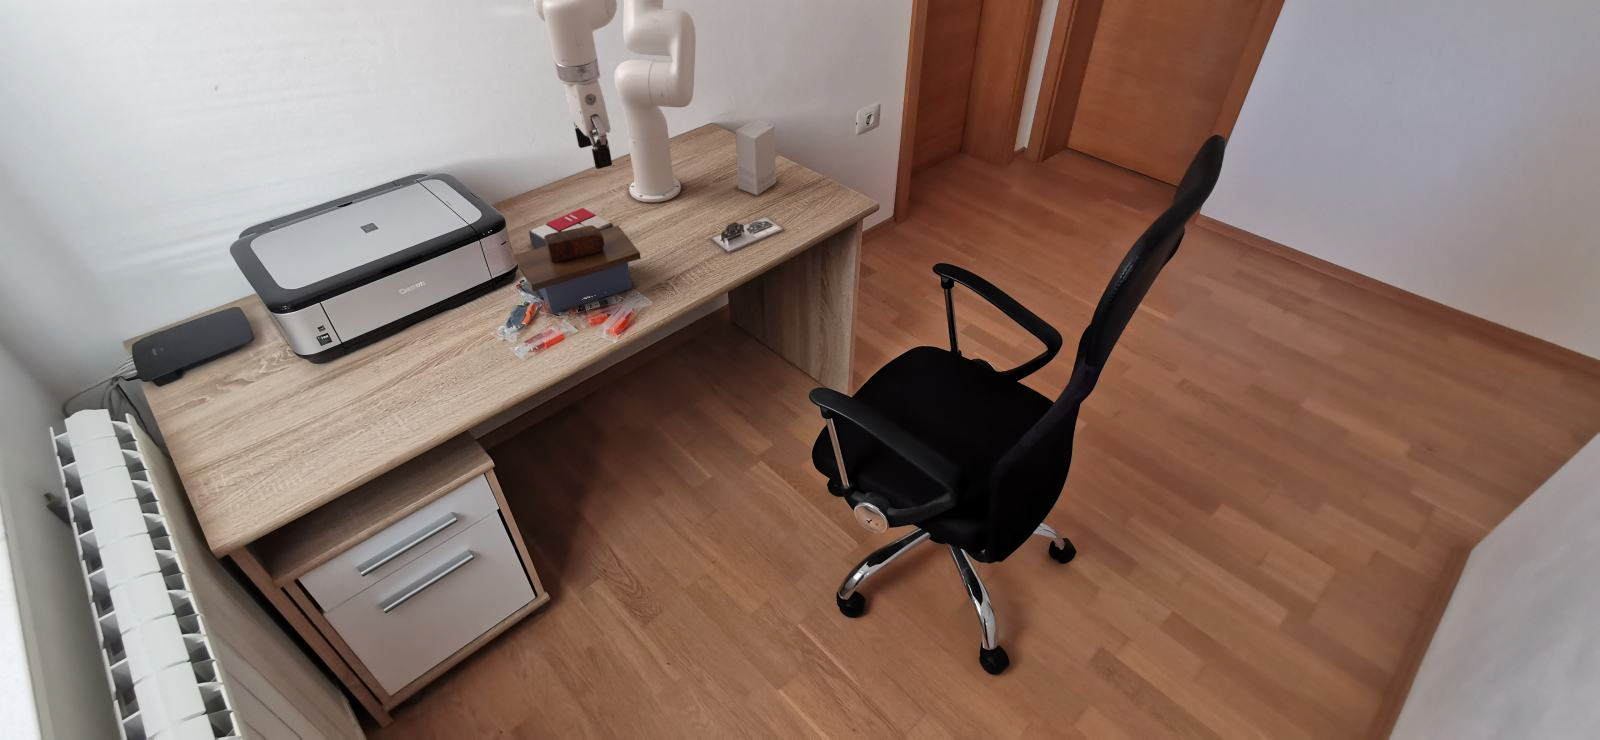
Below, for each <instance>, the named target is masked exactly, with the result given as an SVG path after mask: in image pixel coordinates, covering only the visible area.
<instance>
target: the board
mask: <svg viewBox="0 0 1600 740" xmlns="http://www.w3.org/2000/svg"><path fill="white" fill-rule="evenodd" d="M600 232H601V234H602V236H603V240H604V247H603V251H602V252H598V253H594V254H590V255H586V256H582V257H577V258H573V259H569V260H564V261H559V262H555V263H554V262H552V261H551V258H550V256H549V254H548V250H547V246H544V247H541V248H534V249H530V250H527V251H523V252H519V253H516V254H513V256H514V261H515V262H516V263H515V264H517V266H518V268H519V270H520V271H521V273H522V274H523V276H524V278H525V280H526V282H527V283H528V285H529V287H530V289H531V291H532V292H536V291H539V289H542V288H546V287H549V286H552V285H556V284H559V283H562V282H565V281H569V280H572V279H575V278H579V277H582V276H585V275H588V274H592V273H595V272H598V271H602V270H605V269H608V268H612V267H615V266H618V265H621V264H625V263H628V264H629V263H631V262H634V261H638V260H641V259H642V256H641V252H640V251H639V249H638V248H637V247H636V246H635V245H634V243H633V242H632V240H630V238H629V237H628V236H627V234H626V233H625V232H624V231H623V230H622V228H621V227H620V226H619V225H616V226H613V227H612V228H608V229H605V230H601V231H600Z"/></svg>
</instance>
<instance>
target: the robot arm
mask: <svg viewBox="0 0 1600 740" xmlns="http://www.w3.org/2000/svg"><path fill="white" fill-rule="evenodd" d="M617 4H618V3H617V0H533V6H534V10H535V12H536V14H537V16H538V17H539V18H540V19H541V20H542V21H543V22H544V23H545V26H546V30H547V35H548V39H549V43H550V48H551V52H552V56H553V57H552V58H553V61H554V67H555V72H556V76H557V80H558V81H559V83H561V84H563V86H564V93H565V95H566V102H567V107H568V111H569V114H570V117H571V120H572V122H573V125H574V126H573V127H574V131H575V135H576V140H577V145H578V147H579V148H580V149H583V148H588V147H592V148H591V152H592V153H591V154H592V157H593V163H594V167H595V168H596V169H597V170H600V169H604V168H607V167H611V166H613V162H612V156H611V149H610V144H609V140H608V138H607V137H608V136H607V133H608V134H609V133H610V132H611V124H610V120H609V116H608V111H607V107H606V103H605V99H604V95H603V92H602V87H601V85H600V81H599V79H600V78H601V72H600V65H599V60H598V56H597V49H596V44H595V39H594V34H593V32H595V31H597V30H599V29H602V28H604V27H606V26H607V25H609V24H610V23H611V22H612V21H613V19H614V18H615V15H616V13H617V7H618V5H617ZM622 17H623V21H622V23H623V24H622V25H623V26H622V33H623V34H622V35H623V43H624V46H625V47H626V49H627V50H628V51H629V52H631V53H633V54H637V55H646V56H647V55H648V56H663V57H664V56H665V57H671V59H672V61H663V60H662V61H661V60H650V59H647V60H646V59H628V60H624V61H622V62H621V63H619V65H617V67H616V68H615V71H614V77H613V78H614V79H613V81H614V87H615V90H616V93H617V96H618V99H619V102H620V105H621V109H622V113H623V117H624V123H625V128H626V133H627V134H626V135H627V136H626V137H627V141H628V148H629V155H630V161H631V167H632V173H633V180H634V181H632V182H631V184H630V185H629V188H628V190H629V194H630V196H631V197H632V198H634V199H635V200H637V201H639V202H643V203H662V202H665V201H669V200H671V199H673V198H675V197H676V196H678V195H679V194H680V192H681V188H682V187H681V182H680V181H679V180H678V179H677V178H676V177H674V171H673V164H672V154H671V146H670V138H669V137H670V136H669V129H668V121H667V118H666V116H665V114H664V113H663V111H662V110H661V108H660V107H662V108H663V107H664V108H665V107H666V108H685V107H687V106H689V105H690V104H691V102H692V100H693V96H694V90H695V89H694V87H695V68H696V67H695V65H696V47H697V46H696V41H697V40H696V39H697V37H696V27H695V24H694V23H695V21H694V20H693V17H692V16H691V15H690V14H689V13H688V12H686V11H685V10H682V9H672V8H664V0H623V16H622ZM595 137H597V139H595Z"/></svg>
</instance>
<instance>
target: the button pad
mask: <svg viewBox="0 0 1600 740" xmlns="http://www.w3.org/2000/svg"><path fill="white" fill-rule="evenodd" d="M590 225H592V226H595V227H596V228H598V229H599V230H600V231H601V230H605V229H608V228H612V227H614V224H613V223H611V222H610V221H608V220H607V219H605V218H603V217H601V216H599V215H596V214H595V213H594V212H591V211H589V210H588V209H586V208H583V207H582V208H579V209H576V210H574V211H572V212H569V213H567V214H565V215H564V214H563V215H562V216H559V217H557V218H555V219H552V220H550V221H548V222H546V223H545V224H542V225H540V226H538V227H535V228H533V229H531V230H529V231H528V234H529V235H528V236H529V239H530V244H531V246H532V247H533V248H534V249H537V248H541V247H544V246H546V242H545V238H544V236H545V235H548V234H551V233H556V232H562V231H567V230H571V229H576V228H581V227H585V226H590Z"/></svg>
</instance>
